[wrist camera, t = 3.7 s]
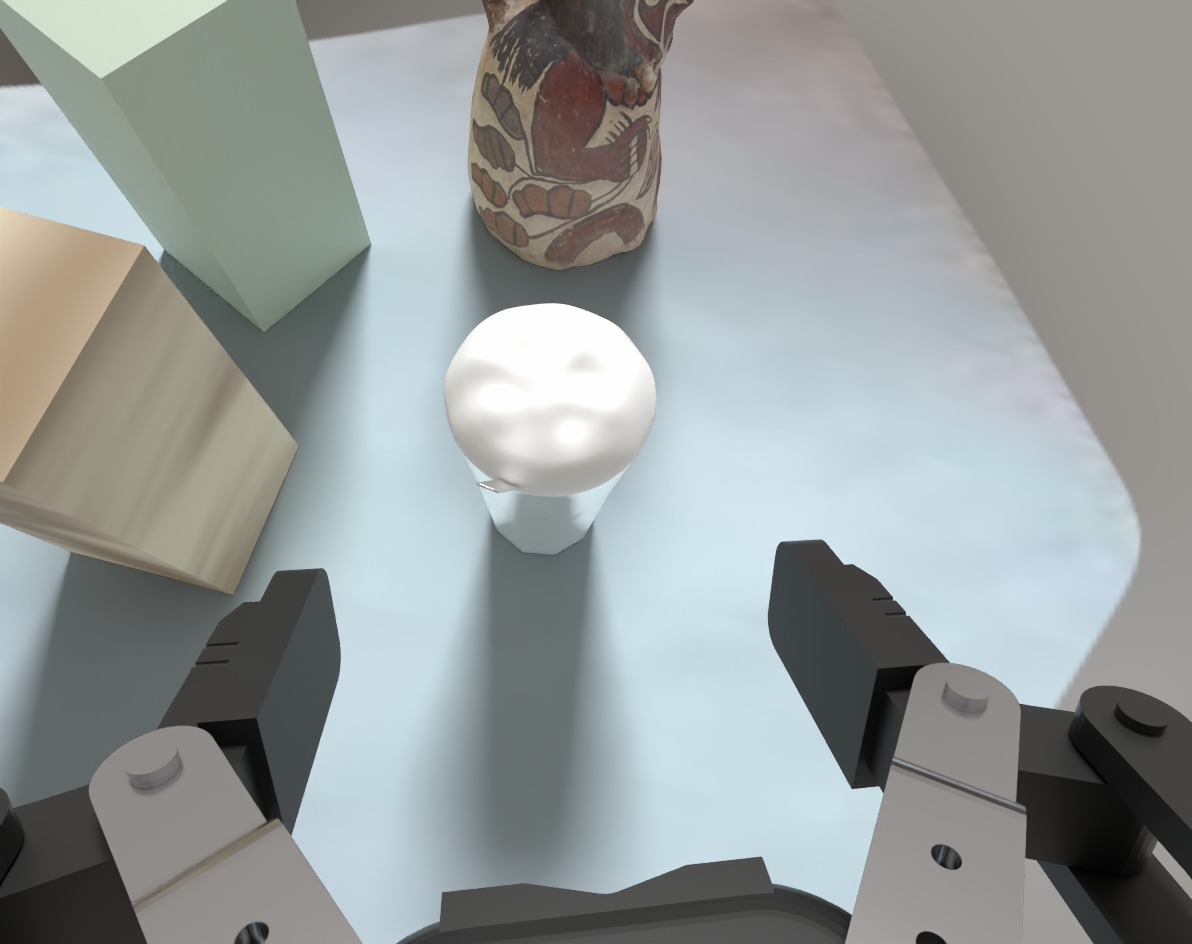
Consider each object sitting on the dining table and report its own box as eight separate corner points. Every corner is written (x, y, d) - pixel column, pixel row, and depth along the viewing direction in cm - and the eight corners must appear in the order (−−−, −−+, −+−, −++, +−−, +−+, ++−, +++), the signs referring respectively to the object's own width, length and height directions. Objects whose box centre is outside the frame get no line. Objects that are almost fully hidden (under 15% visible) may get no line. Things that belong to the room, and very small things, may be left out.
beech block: (70, 551, 21) (-287, 404, 12) (149, 405, 23) (-109, 178, 14) (233, 595, 21) (3, 482, 12) (298, 445, 23) (144, 245, 14)
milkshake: (435, 566, 22) (368, 439, 13) (507, 422, 24) (495, 219, 15) (571, 623, 22) (605, 537, 12) (633, 473, 24) (703, 301, 14)
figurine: (619, 298, 26) (689, -34, 15) (439, 231, 26) (376, -143, 15) (678, 160, 29) (777, -212, 17) (514, 100, 29) (507, -303, 18)
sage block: (163, 249, 25) (-51, -42, 16) (274, 168, 27) (138, -139, 17) (263, 332, 24) (100, 78, 15) (371, 244, 26) (284, -35, 17)
